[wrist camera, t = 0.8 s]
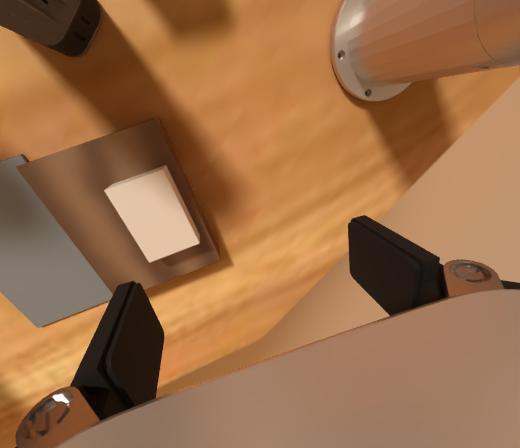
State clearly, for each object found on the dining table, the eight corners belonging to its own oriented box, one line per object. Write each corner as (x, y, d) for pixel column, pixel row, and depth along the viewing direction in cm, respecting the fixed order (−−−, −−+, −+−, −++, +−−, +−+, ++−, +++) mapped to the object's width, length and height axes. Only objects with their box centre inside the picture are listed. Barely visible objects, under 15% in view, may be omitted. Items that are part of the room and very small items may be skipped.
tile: (166, 165, 27) (162, 169, 25) (199, 234, 31) (199, 243, 29) (111, 184, 27) (104, 190, 24) (153, 252, 30) (149, 262, 28)
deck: (159, 118, 28) (154, 118, 25) (219, 249, 36) (220, 260, 33) (34, 161, 27) (15, 166, 24) (123, 286, 35) (117, 300, 32)
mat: (22, 154, 26) (20, 154, 26) (124, 292, 35) (123, 294, 35) (-95, 194, 26) (-99, 195, 25) (39, 325, 34) (37, 328, 34)
